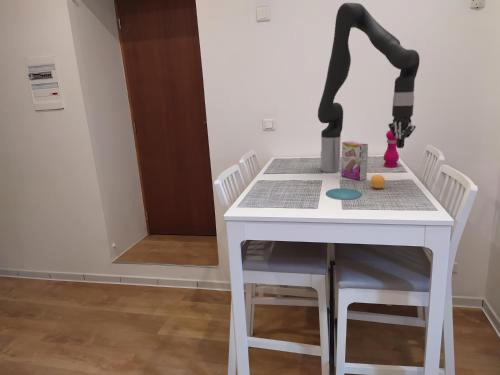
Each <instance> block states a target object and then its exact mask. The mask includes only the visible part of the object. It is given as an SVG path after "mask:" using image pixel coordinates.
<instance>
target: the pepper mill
mask: <svg viewBox="0 0 500 375" xmlns="http://www.w3.org/2000/svg"><path fill="white" fill-rule="evenodd" d="M394 132H395V131H394ZM385 136H386V144H387V148H386V150H385V152H384V155H383V158H382V159H383V161H384V162H383V167H385V168H390V169H392V168H397V167H398V163H397V162H399V159H400V155H399V153H398V150H397V146H396V143H397V139H396V137H395V136H393V135H392V132H391V130H390V129H389V130H388V131H386V135H385Z"/></svg>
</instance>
